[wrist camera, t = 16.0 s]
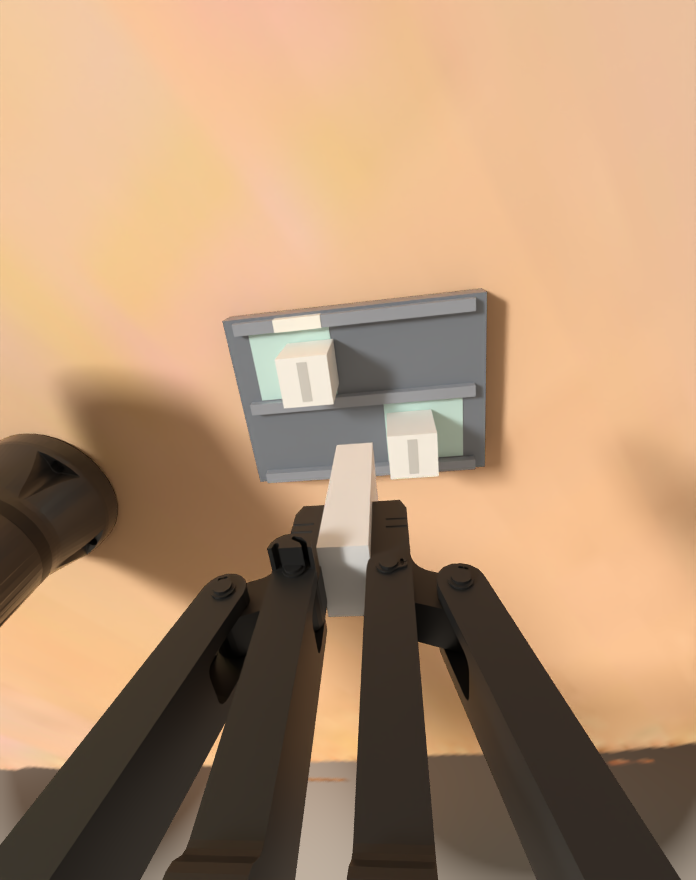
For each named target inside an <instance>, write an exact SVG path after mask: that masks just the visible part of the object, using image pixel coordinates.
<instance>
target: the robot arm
mask: <svg viewBox="0 0 696 880" xmlns="http://www.w3.org/2000/svg"><path fill="white" fill-rule="evenodd" d="M116 519H117V501H116V497H115V494H114V491H113V489H112V486H111V484H110V483H109V481H108V479H107V478H106V476H105V475H104V473H103V472H102V471H101V470H100V468H99V467H98V466H97V465H96V464H95V463H94V462H93V461H92V460H91V459H89V458H88V457H87V456H86V455H84V454H83V453H82V452H80V451H79V450H77V449H76V448H74V447H72V446H70V445H69V444H67V443H64V442H62V441H60V440H57V439H54V438H51V437H48V436H43V435H38V434H18V435H13V436H9V437H6V438H4V439H2V440H0V627H1V626H2V625H3V624H4V623H5V622H6V621H7V620H8V618H9V617H10V616H11V615H12V614H13V613H14V612H15V611H16V610H17V609H18V608H19V607H20V605H21V604H22V603H23V602H24V601H25V600H26V599H27V598H28V597H29V596H30V595H31V593H32V592H33V591H34V590H35V589H36V588H37V587H38V586H39V585H40V584H41V583H42V582H43V581H44V580H45V578H46V577H47V576H48V575H50V574H52V573H54V572H55V571H57V570H59V569H61V568H63V567H65V566H66V565H68V564H70V563H72V562H74V561H76V560H78V559H79V558H81V557H83V556H85V555H87V554H88V553H90V552H92V551H93V550H94V549H95V548H97V547H98V546H99V545H100V544H101V542H102V541H103V540H104V539H105V538H106V537H107V536H108V534H109V533H110V532H111V531H112V529H113V527H114V525H115V523H116ZM267 550H268V554H269V558H270V562H271V567H272V573H271V574H270V575H269V576H267V577H265V578H262V579H259V580H255V581H252V582H248V583H246V581H245V580H244V578H243V577H242V576H239V575H237V574H225V575H222V576H218V577H217V578H215V579H213V580H211V581H210V582H209V583H208V584H207V585H206V586H204V588H203V589H202V590H201V591H200V593H199V594H198V595H197V597H196V598H195V599H194V600H193V602H192V603H191V604H190V605H189V607H188V608H187V609H186V610H185V612H184V613H183V614H182V616H181V617H180V618H179V619H178V621H177V622H176V623H175V624H174V626H173V627H172V628H171V629H170V631H169V632H168V633H167V634H166V636H165V637H164V638H163V640H162V641H161V642H160V643H159V645H158V646H157V647H156V648H155V650H154V651H153V652H152V653H151V655H150V656H149V657H148V659H147V660H146V661H145V662H144V664H143V665H142V666H141V667H140V669H139V670H138V671H137V672H136V674H135V675H134V676H133V678H132V679H131V680H130V681H129V683H128V684H127V685H126V686H125V688H124V689H123V690H122V691H121V693H120V694H119V695H118V697H117V698H116V699H115V700H114V702H113V703H112V704H111V705H110V707H109V708H108V709H107V710H106V712H105V713H104V714H103V716H102V717H101V718H100V719H99V721H98V722H97V723H96V724H95V726H94V727H93V728H92V729H91V731H90V732H89V733H88V735H87V736H86V737H85V738H84V740H83V741H82V742H81V743H80V745H79V746H78V747H77V748H76V750H75V751H74V752H73V754H72V755H71V756H70V757H69V759H68V760H67V761H66V762H65V764H64V765H63V766H62V767H61V769H60V770H59V771H58V773H57V774H56V775H55V776H54V778H53V779H52V780H51V782H50V783H49V784H48V785H47V786H46V788H45V789H44V790H43V792H42V793H41V794H40V795H39V797H38V798H37V799H36V800H35V802H34V803H33V804H32V806H31V807H30V808H29V809H28V811H27V812H26V813H25V814H24V816H23V817H22V818H21V820H20V821H19V822H18V823H17V824H16V826H15V827H14V828H13V830H12V831H11V832H10V833H9V835H8V836H7V837H6V839H5V840H4V841H3V842H2V843H1V845H0V880H140V879H141V877H142V875H143V874H144V872H145V870H146V868H147V866H148V864H149V863H150V861H151V859H152V857H153V855H154V853H155V851H156V850H157V848H158V846H159V844H160V842H161V840H162V839H163V837H164V835H165V833H166V831H167V829H168V827H169V825H170V824H171V822H172V820H173V818H174V816H175V815H176V812H177V811H178V809H179V807H180V805H181V803H182V801H183V800H184V798H185V796H186V794H187V792H188V791H189V789H190V787H191V785H192V783H193V781H194V779H195V777H196V776H197V774H198V772H199V770H200V768H201V767H202V765H203V763H204V761H205V759H206V757H207V756H208V754H209V752H210V750H211V748H212V746H213V744H214V743H215V741H216V739H217V737H218V735H219V733H220V732H221V730H222V728H223V726H224V724H225V726H224V729H223V733H222V736H221V739H220V742H219V746H218V749H217V752H216V755H215V759H214V762H213V765H212V768H211V772H210V775H209V778H208V781H207V785H206V788H205V791H204V795H203V798H202V801H201V805H200V808H199V811H198V814H197V817H196V821H195V824H194V827H193V830H192V834H191V837H190V840H189V842H188V845H187V848H186V850H185V851H184V853H183V854H182V855H181V856H180V857H179V858H177V859H175V860H174V861H172V863H171V864H170V866H169V868H168V869H167V871H166V873H165V875H164V878H163V880H295V876H296V868H297V860H298V853H299V844H300V837H301V829H302V822H303V814H304V806H305V798H306V790H307V783H308V775H309V767H310V760H311V752H312V744H313V736H314V729H315V721H316V713H317V705H318V698H319V690H320V682H321V674H322V667H323V659H324V651H325V643H326V636H327V626H326V620H325V615H326V608H327V610H328V616H329V617H341V616H364V628H363V649H362V670H361V691H360V712H359V733H358V754H357V775H356V797H355V818H354V839H353V853H352V860H351V862H350V864H349V869H348V875H347V880H438V875H437V865H436V855H435V843H434V832H433V819H432V807H431V794H430V782H429V770H428V758H427V746H426V734H425V722H424V710H423V698H422V686H421V674H420V661H419V649H418V642H422V643H425V644H429V645H433V646H436V647H440V652H441V655H442V657H443V659H444V662H445V664H446V666H447V669H448V671H449V673H450V676H451V678H452V681H453V683H454V685H455V688H456V690H457V692H458V695H459V697H460V699H461V702H462V704H463V707H464V709H465V711H466V714H467V716H468V718H469V721H470V723H471V725H472V728H473V730H474V733H475V735H476V737H477V740H478V742H479V744H480V747H481V749H482V751H483V754H484V756H485V759H486V761H487V763H488V766H489V768H490V770H491V773H492V775H493V777H494V780H495V782H496V784H497V787H498V789H499V791H500V794H501V796H502V798H503V801H504V803H505V806H506V808H507V811H508V813H509V815H510V818H511V820H512V822H513V825H514V827H515V830H516V832H517V834H518V836H519V839H520V841H521V844H522V846H523V848H524V851H525V853H526V855H527V858H528V860H529V863H530V865H531V867H532V870H533V872H534V874H535V876H536V879H537V880H681V879H680V878H679V876H678V874H677V873H676V871H675V870H674V868H673V867H672V865H671V864H670V862H669V860H668V859H667V857H666V856H665V855H664V853H663V851H662V850H661V848H660V847H659V845H658V843H657V842H656V841H655V839H654V837H653V836H652V834H651V833H650V831H649V830H648V828H647V827H646V825H645V823H644V822H643V820H642V819H641V817H640V816H639V814H638V813H637V811H636V809H635V808H634V806H633V805H632V803H631V802H630V800H629V799H628V797H627V796H626V794H625V792H624V791H623V789H622V788H621V786H620V785H619V783H618V782H617V780H616V779H615V777H614V775H613V774H612V772H611V771H610V769H609V768H608V766H607V765H606V763H605V762H604V760H603V758H602V757H601V755H600V754H599V752H598V751H597V749H596V748H595V746H594V744H593V743H592V741H591V740H590V738H589V737H588V735H587V734H586V732H585V731H584V729H583V727H582V726H581V724H580V723H579V721H578V720H577V718H576V717H575V715H574V714H573V712H572V710H571V709H570V707H569V706H568V704H567V703H566V701H565V700H564V698H563V697H562V695H561V693H560V692H559V690H558V689H557V687H556V686H555V684H554V683H553V681H552V680H551V678H550V676H549V675H548V673H547V672H546V670H545V669H544V667H543V666H542V664H541V663H540V661H539V659H538V658H537V656H536V655H535V653H534V652H533V650H532V649H531V647H530V645H529V644H528V642H527V641H526V639H525V638H524V636H523V635H522V633H521V632H520V630H519V628H518V627H517V625H516V624H515V622H514V621H513V619H512V618H511V616H510V615H509V613H508V611H507V610H506V608H505V607H504V605H503V604H502V602H501V601H500V599H499V598H498V596H497V594H496V593H495V591H494V590H493V588H492V587H491V585H490V584H489V582H488V581H487V579H486V577H485V576H484V574H483V573H482V572H481V571H480V570H479V569H477V568H475V567H473V566H471V565H467V564H462V563H458V564H450V565H448V566H445V567H443V568H442V569H441V570H440V571H439V573H436V572H431V571H428V570H425V569H423V568H421V567H419V566H418V565H417V564H415V563H414V561H413V560H412V558H411V555H410V545H409V533H408V521H407V510H406V507H405V506H404V505H403V503H402V502H401V501H400V500H391V501H378V493H377V483H376V473H375V463H374V453H373V443H359V444H345V445H337V446H336V451H335V456H334V461H333V466H332V471H331V476H330V481H329V486H328V491H327V496H326V501H325V505H320V506H304V507H303V508H302V509H301V510H300V511H299V512H298V513H297V514H296V517H295V520H294V524H293V527H292V530H291V534H288V535H284V536H281V537H279V538H277V539H275V540H274V541H273V542H272V543H271V544H270V545H269V547H268V548H267ZM225 722H226V723H225Z"/></svg>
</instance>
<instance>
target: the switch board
mask: <svg viewBox="0 0 696 880" xmlns="http://www.w3.org/2000/svg"><path fill="white" fill-rule="evenodd" d="M222 322H223V326H224V330H225V334H226V339H227V343H228V347H229V351H230V355H231V360H232V364H233V368H234V372H235V376H236V381H237V385H238V389H239V393H240V397H241V402H242V406H243V410H244V414H245V419H246V423H247V427H248V431H249V435H250V440H251V444H252V448H253V452H254V456H255V461H256V465H257V469H258V473H259V478H260V482H264V481H267V482H268V483H277V482H292V481H307V480H322V479H330V476H331V471H332V466H333V461H334V456H335V451H336V446H337V445H345V444H359V443H373V453H374V463H375V473H376V476H381V475H390V465H389V454H388V443H387V413H392V412H404V411H416V410H428V409H431V411H432V415H433V419H434V423H435V426H436V430H437V442H438V469H439V472H440V471H455V470H470V469H475V467H484V466H485V401H486V326H487V292H486V291H485V290H484V289H482V288H481V289H472V290H464V291H455V292H446V293H437V294H428V295H419V296H410V297H401V298H393V299H384V300H375V301H366V302H357V303H348V304H339V305H331V306H322V307H313V308H304V309H295V310H286V311H277V312H268V313H260V314H251V315H242V316H233V317H229V318H227V319H225V320H224V321H222ZM326 339H333V342H334V349H335V357H336V364H337V371H338V379H339V386H338V389H337V393H336V397H335V401H334V404H330V405H319V406H307V407H296V408H284V406H283V401H282V396H281V390H280V385H279V380H278V375H277V370H276V365H275V358H276V357H277V356H278V355H279V353H280V352H281V351H282V349H283V348H284V347H285V346H286V344H287V343H297V342H306V341H316V340H326Z"/></svg>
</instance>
